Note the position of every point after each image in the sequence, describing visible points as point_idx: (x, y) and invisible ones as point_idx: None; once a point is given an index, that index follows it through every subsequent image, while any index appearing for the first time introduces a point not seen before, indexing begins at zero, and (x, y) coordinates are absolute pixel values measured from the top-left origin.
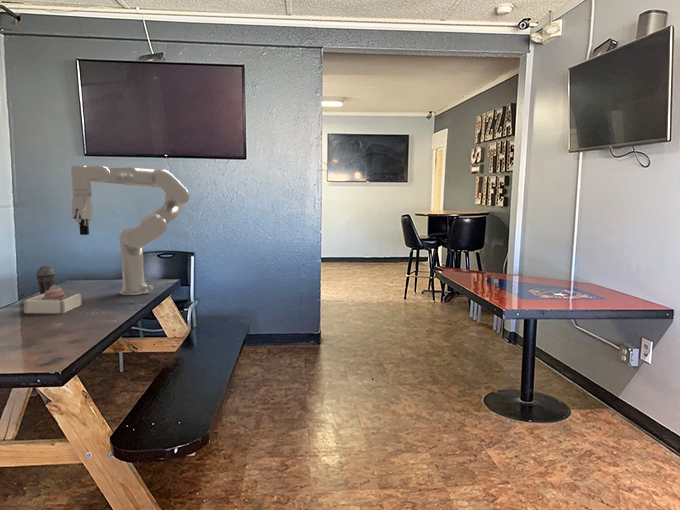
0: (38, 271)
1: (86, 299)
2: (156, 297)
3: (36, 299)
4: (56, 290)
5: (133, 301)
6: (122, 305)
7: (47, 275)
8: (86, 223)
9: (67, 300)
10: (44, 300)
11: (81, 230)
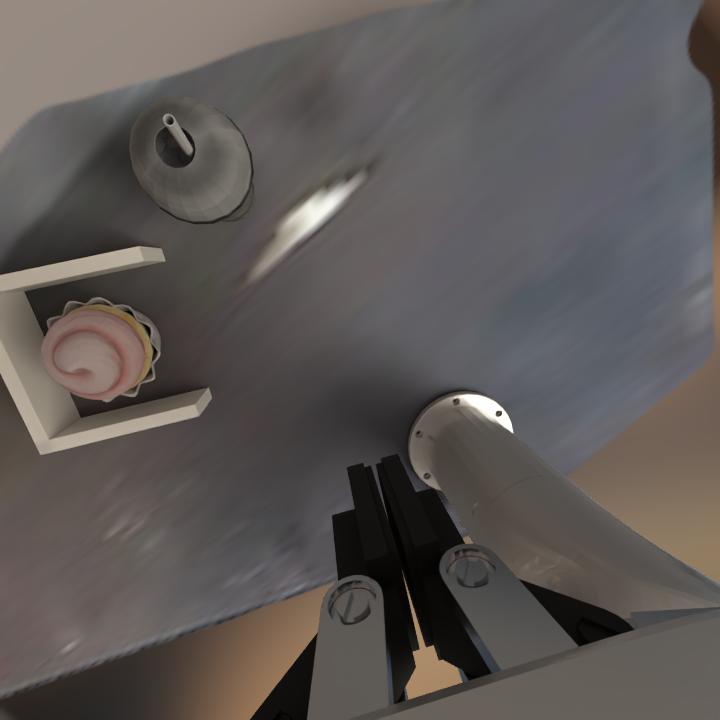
0: (130, 136)
1: (305, 345)
2: None
3: (54, 280)
4: (70, 386)
5: (326, 527)
6: (259, 533)
7: (164, 209)
8: (470, 674)
9: (85, 441)
10: (13, 371)
11: (336, 544)
